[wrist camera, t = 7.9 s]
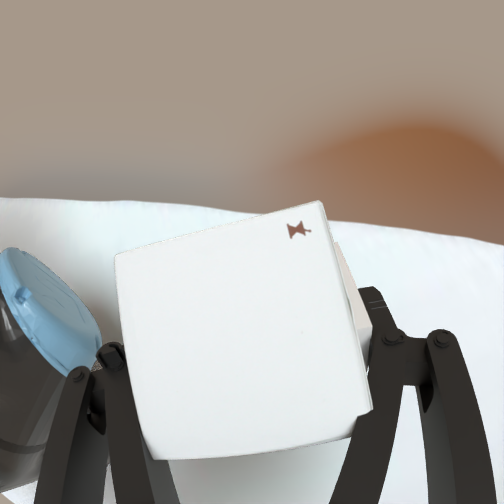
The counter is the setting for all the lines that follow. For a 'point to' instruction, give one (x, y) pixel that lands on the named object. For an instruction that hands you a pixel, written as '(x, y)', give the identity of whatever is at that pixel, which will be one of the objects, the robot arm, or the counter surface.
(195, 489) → the counter surface
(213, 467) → the counter surface
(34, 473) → the robot arm
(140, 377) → the supplement box
